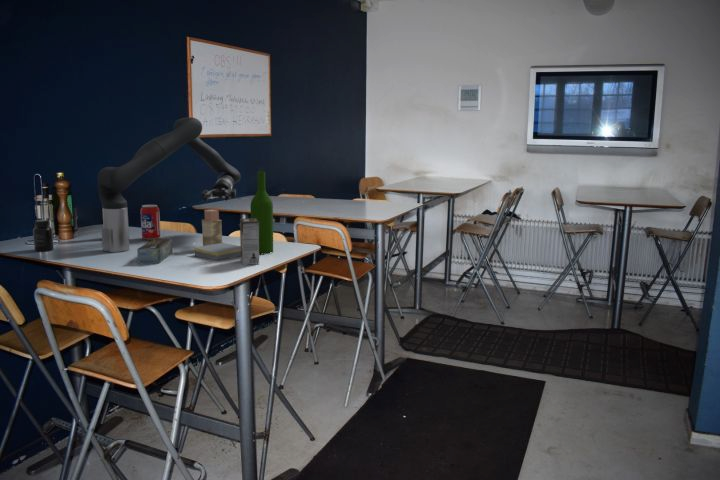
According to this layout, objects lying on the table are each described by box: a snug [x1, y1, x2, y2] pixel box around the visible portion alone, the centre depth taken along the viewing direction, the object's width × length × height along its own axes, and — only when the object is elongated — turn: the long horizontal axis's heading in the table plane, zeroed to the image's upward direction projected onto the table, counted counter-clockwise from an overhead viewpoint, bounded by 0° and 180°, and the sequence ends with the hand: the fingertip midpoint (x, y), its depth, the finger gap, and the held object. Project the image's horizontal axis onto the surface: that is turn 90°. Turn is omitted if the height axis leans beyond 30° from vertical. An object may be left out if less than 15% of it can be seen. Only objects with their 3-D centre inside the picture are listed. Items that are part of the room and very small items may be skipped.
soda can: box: [140, 204, 161, 241], centre depth 260 cm, size 8×8×15 cm
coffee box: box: [239, 217, 260, 266], centre depth 218 cm, size 9×6×16 cm
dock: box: [193, 242, 241, 261], centre depth 230 cm, size 14×14×3 cm
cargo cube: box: [204, 209, 220, 221], centre depth 240 cm, size 4×4×4 cm
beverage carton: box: [137, 237, 174, 265], centre depth 223 cm, size 8×19×7 cm, turn 2°
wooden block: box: [201, 219, 223, 246], centre depth 242 cm, size 6×6×12 cm
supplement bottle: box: [32, 219, 54, 252], centre depth 233 cm, size 7×7×12 cm
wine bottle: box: [250, 171, 274, 254], centre depth 235 cm, size 9×9×32 cm
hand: (215, 198), depth 247 cm, fingers open, 8 cm apart
